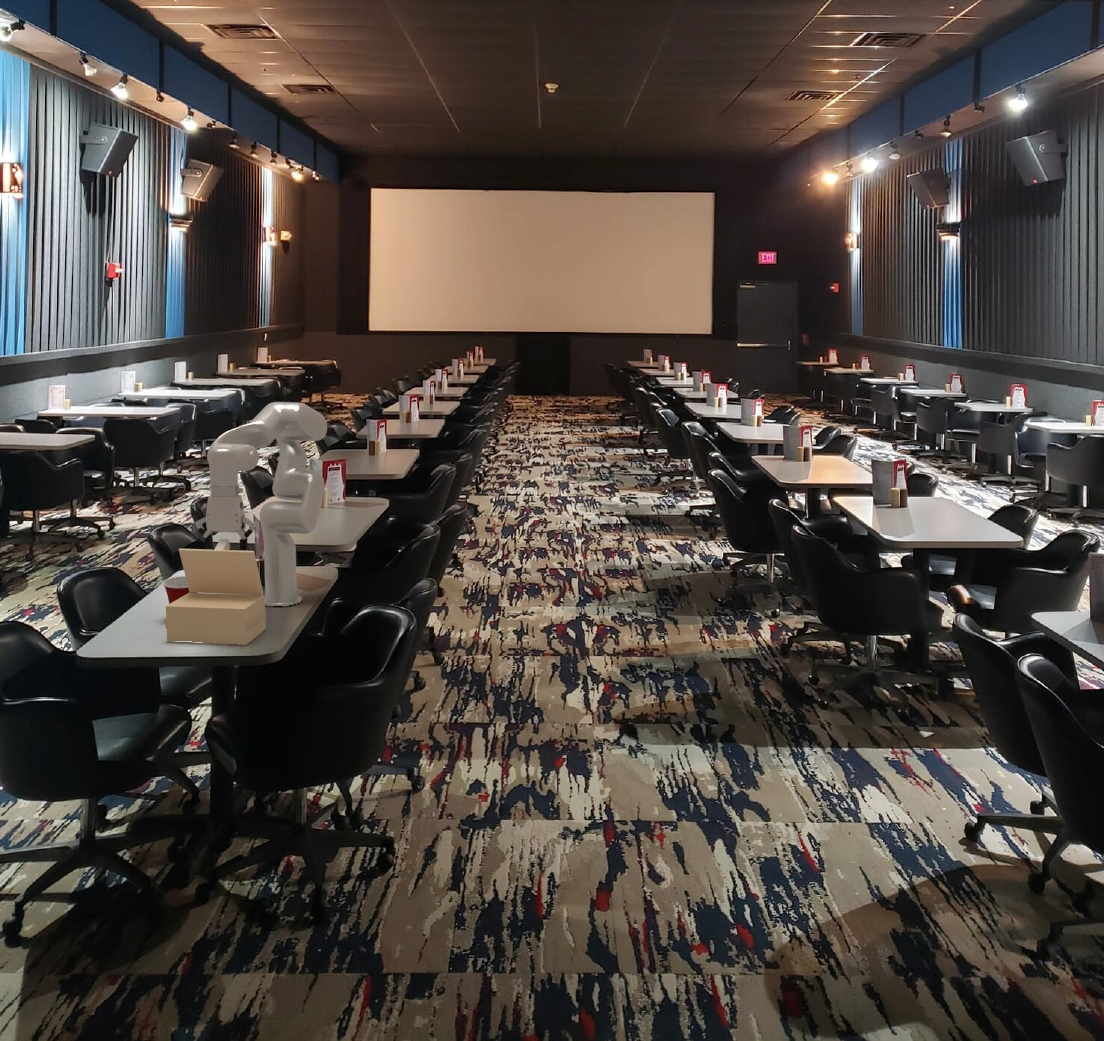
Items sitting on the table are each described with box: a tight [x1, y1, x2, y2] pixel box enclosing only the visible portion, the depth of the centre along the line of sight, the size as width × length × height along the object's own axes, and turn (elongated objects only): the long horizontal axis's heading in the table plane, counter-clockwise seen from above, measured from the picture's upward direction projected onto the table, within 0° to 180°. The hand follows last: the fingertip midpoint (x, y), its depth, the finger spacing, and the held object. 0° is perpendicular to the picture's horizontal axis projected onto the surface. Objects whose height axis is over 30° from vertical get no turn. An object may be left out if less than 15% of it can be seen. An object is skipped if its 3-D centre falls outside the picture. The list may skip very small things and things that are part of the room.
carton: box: [164, 593, 267, 646], centre depth 325 cm, size 16×22×10 cm
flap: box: [178, 538, 264, 595], centre depth 330 cm, size 15×21×7 cm
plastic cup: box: [161, 575, 194, 605], centre depth 341 cm, size 11×11×12 cm
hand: (226, 551), depth 331 cm, fingers open, 9 cm apart
